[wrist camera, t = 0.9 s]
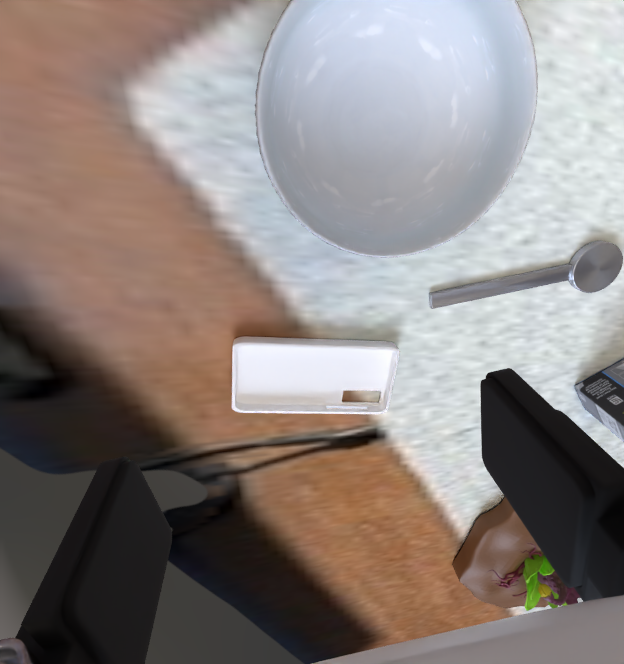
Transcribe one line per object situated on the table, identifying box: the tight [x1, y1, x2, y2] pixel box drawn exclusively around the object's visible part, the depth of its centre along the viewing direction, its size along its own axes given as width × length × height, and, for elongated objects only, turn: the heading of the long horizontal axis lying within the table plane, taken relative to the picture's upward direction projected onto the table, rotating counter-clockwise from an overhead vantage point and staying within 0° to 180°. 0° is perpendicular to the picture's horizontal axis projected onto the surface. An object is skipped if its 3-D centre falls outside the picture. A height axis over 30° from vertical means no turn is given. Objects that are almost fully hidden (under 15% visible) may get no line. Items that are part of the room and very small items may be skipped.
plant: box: [453, 497, 602, 611], centre depth 49 cm, size 20×20×11 cm
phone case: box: [232, 336, 400, 414], centre depth 39 cm, size 7×1×15 cm
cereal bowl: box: [255, 0, 538, 258], centre depth 27 cm, size 17×17×7 cm
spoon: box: [429, 241, 623, 309], centre depth 37 cm, size 5×17×1 cm, turn 100°
